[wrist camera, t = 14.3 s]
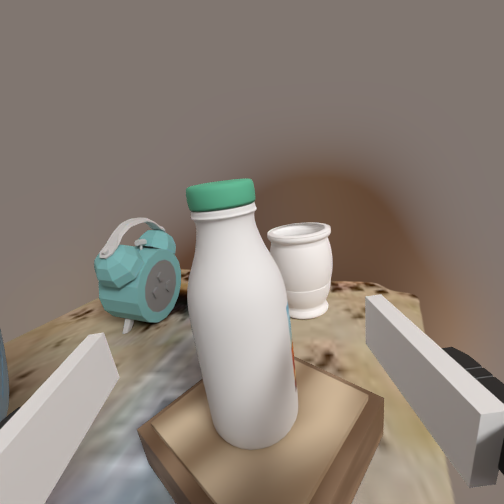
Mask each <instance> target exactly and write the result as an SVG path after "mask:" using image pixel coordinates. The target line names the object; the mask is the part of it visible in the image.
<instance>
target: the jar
mask: <svg viewBox="0 0 504 504" xmlns="http://www.w3.org/2000/svg"><path fill="white" fill-rule="evenodd" d="M330 233H331V227H330V226H329V225H327V224H322V223H296V224H289V225H284V226H280V227H277V228H274V229H272V230H270V231H269V232H268V235H267V236H268V239H269V240H270V241H271V248H270V254H271V256H272V257H273V259H274V261H275V262H276V264H277V266H278V268H279V270H280V272H281V275H282V278H283V281H284V285H285V289H286V293H287V300H288V307H289V314H290V317H292V318H296V319H311V318H315V317H318V316H320V315H322V314H324V313H325V312H326V311H327V309H328V302H327V301H326V298H327V296H328V293H329V289H330V283H331V275H332V252H331V247H330V243H329V240H328V236H329V234H330Z"/></svg>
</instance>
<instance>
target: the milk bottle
mask: <svg viewBox="0 0 504 504" xmlns="http://www.w3.org/2000/svg"><path fill="white" fill-rule="evenodd" d="M186 197H187V203H188V206H189V209H190V211H191V219H192V220H194V221H195V224H196V230H197V239H196V249H195V256H194V260H193V264H192V268H191V272H190V277H189V281H188V295H187V299H188V310H189V316H190V322H191V327H192V332H193V337H194V341H195V346H196V351H197V355H198V360H199V364H200V369H201V373H202V378H203V382H204V386H205V391H206V395H207V400H208V404H209V408H210V413H211V417H212V420H213V424H214V426H215V429H216V431H217V432H218V434H219V435H220V436H221V437H222V438H223V439H224V440H225V441H226V442H228V443H230V444H231V445H233V446H235V447H238V448H240V449H247V450H258V449H263V448H267V447H270V446H272V445H273V444H276V443H278V442H279V441H280V440H281V439H283V438H284V437H285V436H286V435H287V433H288V432H289V431H290V430H291V428H292V426H293V424H294V422H295V420H296V418H297V414H298V393H297V382H296V372H295V362H294V352H293V342H292V333H291V324H290V314H289V307H288V300H287V293H286V289H285V285H284V281H283V278H282V275H281V272H280V270H279V268H278V266H277V264H276V262H275V261H274V259H273V257H272V256H271V254H270V253H269V251H268V249H267V248H266V246H265V244H264V242H263V241H262V239H261V236H260V234H259V232H258V229H257V226H256V223H255V220H254V211H255V210H256V209H257V208H256V206H255V202H254V201H255V190H254V184H253V182H252V180H251V179H234V180H226V181H218V182H211V183H205V184H200V185H195V186H191V187H188V188H187V189H186Z"/></svg>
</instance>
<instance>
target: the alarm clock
mask: <svg viewBox="0 0 504 504" xmlns="http://www.w3.org/2000/svg"><path fill="white" fill-rule="evenodd" d="M142 222H145V223H146V224H148V225H149V227H150V228H152V229H153V230H148V231H146V232H145V233H144V234H143V235H142V236H141V237H140V238H139V239H138V240H136V241H135V245H136V247H132V246H126V245H119V243H120V241H121V238H122V236H123V235H124V233H125V232H126V231H127V230H128V229H129V228H130V227H132V226H134V225H136V224H139V223H142ZM175 248H176V245H175V243H174V240H173V238H172V237H171V236H170V235H168V234H167V233H165V229H163V227H162V226H159V225H157V224H156V223H155V222H154V221H152V220H149V219H147V218H133V219H129V220H127V221H125V222H123V223H121V224H120V225H119V226H118V227H117V228H116V230H115V231H114V232H113V233H112V235H111V236H110V238H109V240H108V242H107V243H106V245H105V246H104V248H103V249H102V250H101V251H100V253H99V254H98V256H97V257H96V259H95V261H94V262H95V263H94V268H95V272H96V275H97V279H98V280H99V299H100V301H101V303H102V305H103V307H104V309H105V310H106V311H107V312H108V313H110V314H111V315H112V316H115V317H121V318H125V323H124V329H123V334H124V333H128V332H129V331H130V330H131V329H132V326H133V323H134V320H139V321H145V322H160V321H161V320H163V319H164V318H166V317H167V316H168V314H169V313H170V312H171V310H172V309H173V308H174V305H175V303H176V300H177V298H178V295H179V290H180V285H181V270H180V266H179V262H178V260H177V258H176V257H175V255H174V254H175Z"/></svg>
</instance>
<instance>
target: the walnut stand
mask: <svg viewBox="0 0 504 504" xmlns="http://www.w3.org/2000/svg"><path fill="white" fill-rule="evenodd" d="M294 362H295V372H296V382H297V393H298V414H297V418H296V420H295V422H294V424H293V426H292V428H291V430H290V431H289V432H288V433H287V435H286V436H285V437H284V438H283V439H281V440H280V441H279V442H278V443H276V444H273V445H272V446H270V447H267V448H263V449H258V450H247V449H240V448H238V447H235V446H233V445H231V444H230V443H228V442H226V441H225V440H224V439H223V438H222V437H221V436H220V435H219V434H218V432H217V431H216V429H215V426H214V424H213V420H212V417H211V413H210V408H209V404H208V400H207V395H206V391H205V386H204V382H203V379H202V380H200V381H199V382H198V383H196V384H195V385H194V386H193V387H191V388H190V389H189V390H187V391H186V392H185V393H184V394H182V395H181V396H180V397H178V398H177V399H176V400H174V401H173V402H172V403H171V404H169V405H168V406H167V407H165V408H164V409H163V410H162V411H160V412H159V413H158V414H156V415H155V416H154V417H153V418H151V419H150V420H149V421H147V422H146V423H145V424H143V425H142V426H141V427H140V428H138V429H137V431H138V434H139V437H140V440H141V442H142V445H143V448H144V451H145V454H146V457H147V460H148V462H149V464H150V466H151V467H152V469H153V470H154V472H155V473H156V475H157V476H158V478H159V479H160V480H161V482H162V483H163V485H164V486H165V488H166V489H167V491H168V492H169V494H170V495H171V497H172V498H173V499H174V501H175V502H176V504H351V503H352V501H353V499H354V497H355V494H356V492H357V490H358V488H359V486H360V484H361V481H362V479H363V477H364V475H365V473H366V471H367V468H368V466H369V464H370V462H371V460H372V457H373V455H374V453H375V451H376V449H377V447H378V444H379V442H380V440H381V438H382V436H383V421H384V398H383V397H381V396H378V395H376V394H374V393H372V392H370V391H368V390H365V389H363V388H361V387H359V386H357V385H355V384H353V383H350V382H348V381H346V380H344V379H342V378H340V377H337V376H335V375H333V374H331V373H329V372H327V371H324V370H322V369H320V368H318V367H316V366H314V365H312V364H309V363H307V362H305V361H303V360H301V359H299V358H296V357H294Z"/></svg>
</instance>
